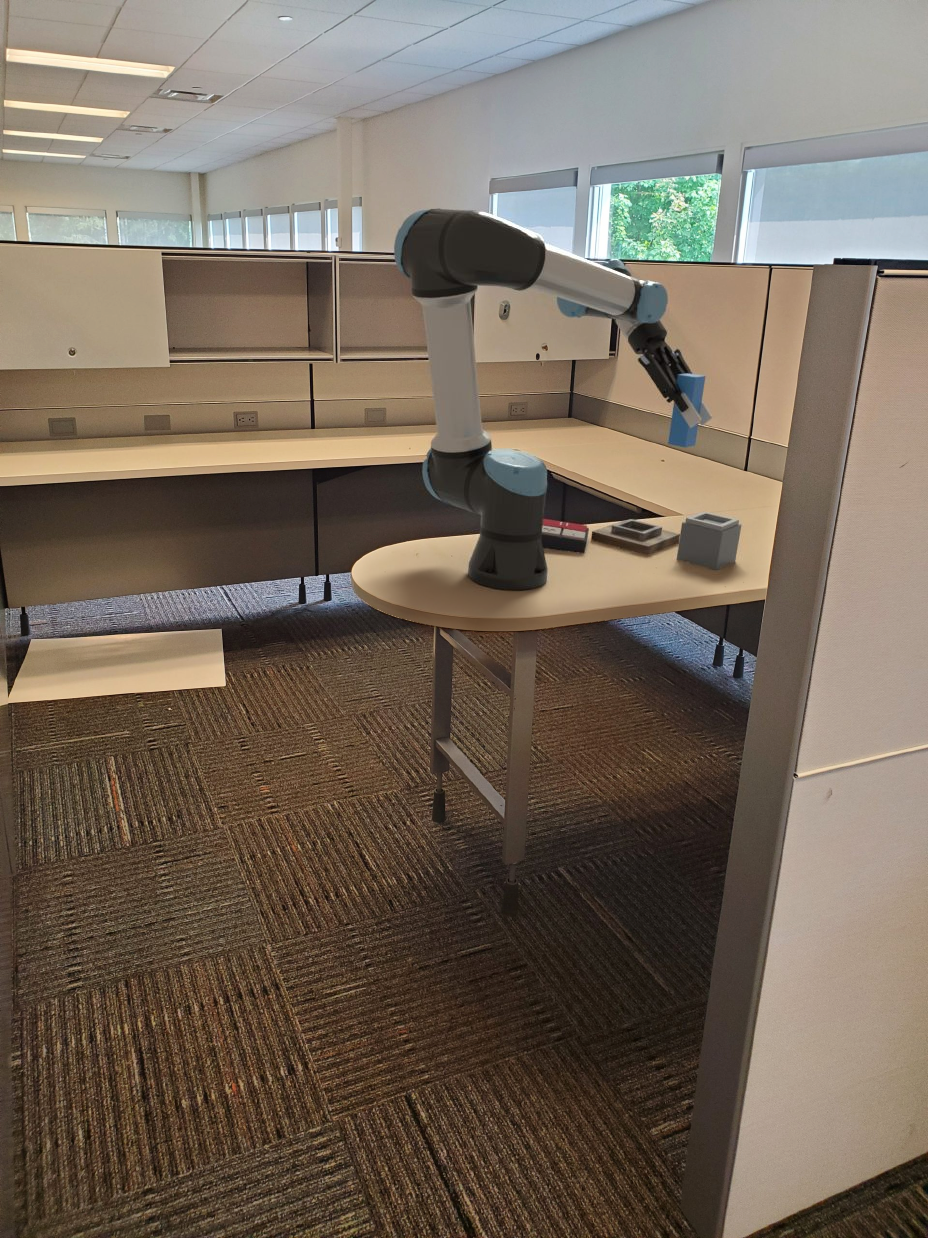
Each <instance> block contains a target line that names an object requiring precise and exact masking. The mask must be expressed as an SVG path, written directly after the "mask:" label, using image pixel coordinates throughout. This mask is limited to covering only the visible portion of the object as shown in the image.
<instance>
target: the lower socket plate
mask: <svg viewBox="0 0 928 1238" xmlns="http://www.w3.org/2000/svg"><path fill="white" fill-rule="evenodd" d="M592 540H593V542H597V543H600V544H603V545H608V546H610V547H614V546H615V548H618V547H619V548H618V549H622V550H625V551H629V552H633V553H637V554H639V555H644V556H650V555H652V554H655V553H657V552H659V551H661V550H664V549H666V548H669V547H672V546H674V545H677V544H679V540H680V533H677V532H674V531H669V530H665V529H663V526H660V525H657V524H653V523H648V522H644V521H640V520H636V519H634V518H632V519H631V518H630V519H626V520H622V521H619V522H616V523H613V524H610V525H607V526H603V527H601V528H598V529H595V530H592V532H591V538H590V541H592Z"/></svg>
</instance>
